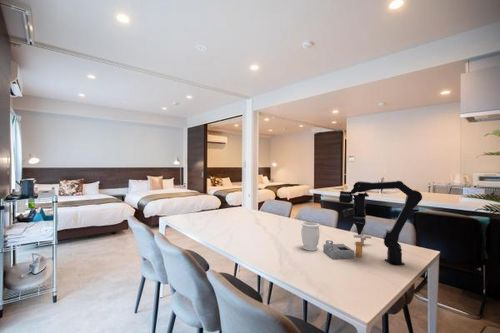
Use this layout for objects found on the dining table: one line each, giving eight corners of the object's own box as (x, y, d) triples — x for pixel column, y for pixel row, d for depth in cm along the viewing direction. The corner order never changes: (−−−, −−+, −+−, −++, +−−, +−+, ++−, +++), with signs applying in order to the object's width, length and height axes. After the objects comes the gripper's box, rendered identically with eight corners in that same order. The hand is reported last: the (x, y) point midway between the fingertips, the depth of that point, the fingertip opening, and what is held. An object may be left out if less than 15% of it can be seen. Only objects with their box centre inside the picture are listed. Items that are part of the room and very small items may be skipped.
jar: (306, 252, 137) (306, 226, 137) (298, 246, 147) (298, 222, 147) (322, 250, 139) (323, 225, 140) (313, 245, 149) (313, 221, 150)
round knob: (364, 258, 129) (364, 243, 129) (357, 258, 128) (357, 243, 128) (360, 255, 133) (360, 241, 133) (353, 255, 132) (353, 241, 132)
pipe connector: (373, 247, 146) (373, 231, 146) (355, 246, 148) (355, 230, 148) (368, 242, 156) (368, 227, 156) (352, 241, 158) (352, 226, 158)
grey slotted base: (354, 258, 128) (354, 246, 128) (332, 259, 127) (332, 246, 127) (343, 250, 140) (343, 239, 140) (323, 251, 139) (323, 240, 139)
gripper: (345, 201, 143) (344, 227, 143) (342, 205, 126) (342, 235, 126) (365, 202, 138) (365, 229, 138) (365, 207, 122) (365, 237, 121)
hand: (359, 232), depth 131 cm, fingers open, 9 cm apart
